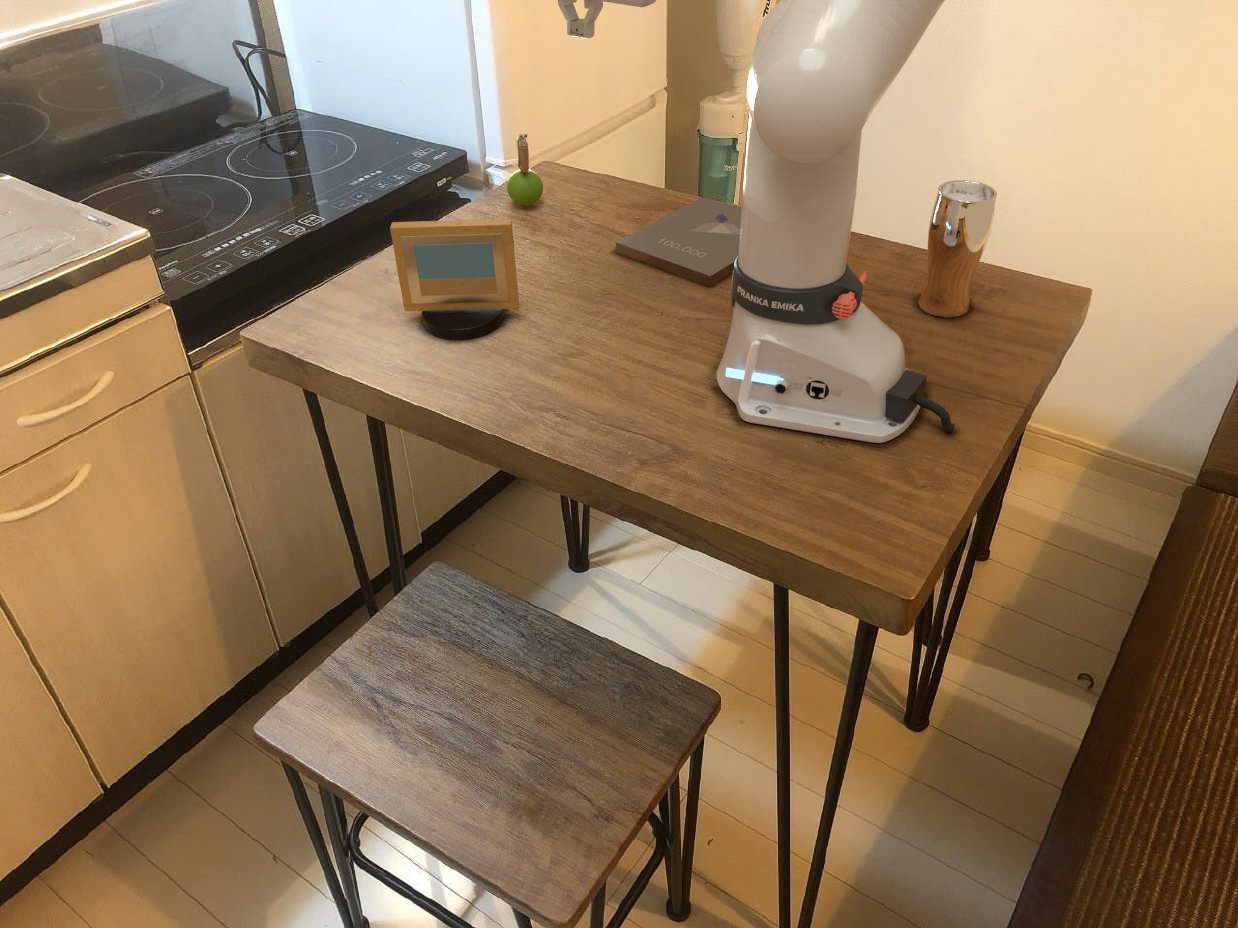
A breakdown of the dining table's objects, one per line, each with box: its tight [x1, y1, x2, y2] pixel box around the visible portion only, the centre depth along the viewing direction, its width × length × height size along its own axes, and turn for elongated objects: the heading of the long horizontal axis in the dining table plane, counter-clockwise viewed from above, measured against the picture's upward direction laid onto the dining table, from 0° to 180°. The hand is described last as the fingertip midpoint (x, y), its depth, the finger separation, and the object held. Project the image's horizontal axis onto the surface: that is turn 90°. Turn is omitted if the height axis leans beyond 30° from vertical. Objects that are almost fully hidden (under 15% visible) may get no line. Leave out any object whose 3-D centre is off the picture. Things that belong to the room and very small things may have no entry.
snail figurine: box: [506, 133, 544, 207], centre depth 144 cm, size 5×6×12 cm
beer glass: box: [917, 179, 998, 318], centre depth 117 cm, size 7×7×15 cm
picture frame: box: [389, 218, 520, 312], centre depth 116 cm, size 14×2×11 cm, turn 91°
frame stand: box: [421, 309, 505, 341], centre depth 120 cm, size 10×10×2 cm
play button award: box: [615, 196, 742, 287], centre depth 136 cm, size 16×2×20 cm
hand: (580, 36), depth 118 cm, fingers closed
